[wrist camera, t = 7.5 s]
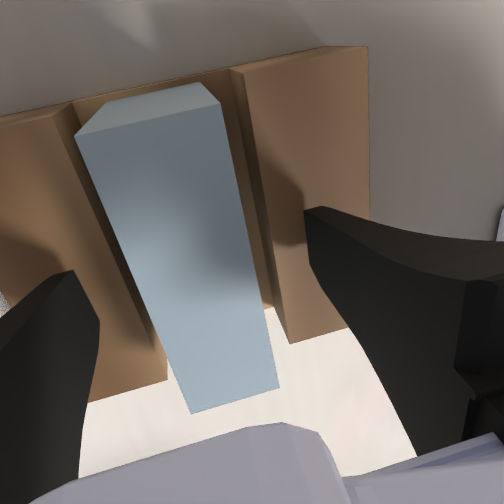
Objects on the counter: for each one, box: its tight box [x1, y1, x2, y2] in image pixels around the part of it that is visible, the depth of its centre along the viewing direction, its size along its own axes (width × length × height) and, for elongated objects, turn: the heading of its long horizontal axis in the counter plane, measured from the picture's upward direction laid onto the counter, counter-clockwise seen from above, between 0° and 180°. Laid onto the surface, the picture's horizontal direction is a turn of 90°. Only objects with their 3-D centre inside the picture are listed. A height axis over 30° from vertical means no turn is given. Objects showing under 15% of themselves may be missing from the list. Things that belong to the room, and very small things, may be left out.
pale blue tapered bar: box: [74, 82, 280, 414], centre depth 12 cm, size 3×9×5 cm, turn 10°
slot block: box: [0, 46, 370, 403], centre depth 13 cm, size 12×10×3 cm
